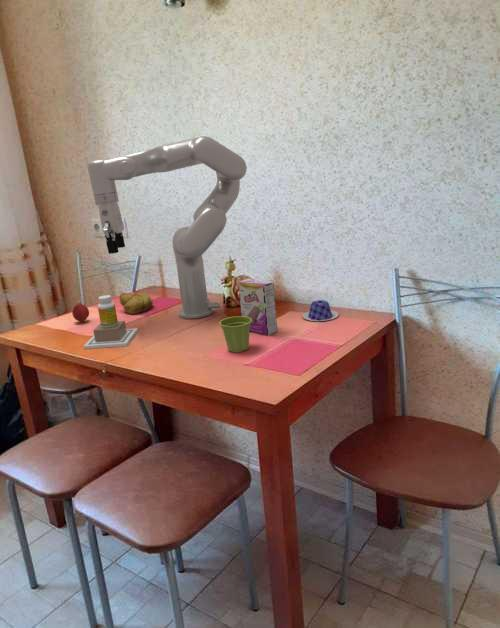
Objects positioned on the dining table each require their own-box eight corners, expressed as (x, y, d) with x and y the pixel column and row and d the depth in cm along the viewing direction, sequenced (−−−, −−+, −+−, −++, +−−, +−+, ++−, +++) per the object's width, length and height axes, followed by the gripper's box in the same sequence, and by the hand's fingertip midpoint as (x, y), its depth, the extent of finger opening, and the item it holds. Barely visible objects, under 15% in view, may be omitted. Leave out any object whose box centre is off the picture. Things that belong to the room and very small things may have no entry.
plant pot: (223, 344, 154) (220, 317, 151) (254, 341, 154) (252, 314, 151) (221, 356, 145) (218, 327, 142) (254, 353, 145) (251, 324, 142)
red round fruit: (80, 325, 186) (76, 304, 183) (71, 323, 189) (67, 303, 187) (93, 320, 190) (89, 300, 188) (84, 319, 193) (80, 298, 191)
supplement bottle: (109, 328, 162) (104, 299, 160) (97, 327, 165) (92, 298, 162) (121, 323, 167) (116, 295, 164) (110, 321, 170) (105, 293, 167)
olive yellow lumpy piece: (147, 304, 206) (144, 285, 203) (160, 308, 199) (157, 288, 196) (119, 312, 198) (115, 293, 195) (131, 317, 191) (128, 296, 188)
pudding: (344, 319, 167) (344, 303, 165) (310, 325, 164) (309, 310, 162) (329, 309, 178) (328, 295, 176) (297, 315, 175) (296, 300, 174)
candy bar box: (241, 330, 164) (236, 281, 159) (252, 326, 168) (247, 277, 163) (268, 336, 157) (263, 285, 152) (278, 331, 160) (274, 281, 155)
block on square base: (138, 331, 174) (135, 317, 172) (126, 346, 160) (124, 331, 159) (98, 334, 175) (95, 320, 173) (83, 349, 161) (80, 334, 160)
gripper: (111, 200, 158) (122, 253, 164) (123, 195, 175) (133, 244, 180) (87, 203, 158) (99, 256, 164) (102, 197, 175) (112, 246, 180)
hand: (117, 250), depth 172 cm, fingers open, 9 cm apart
